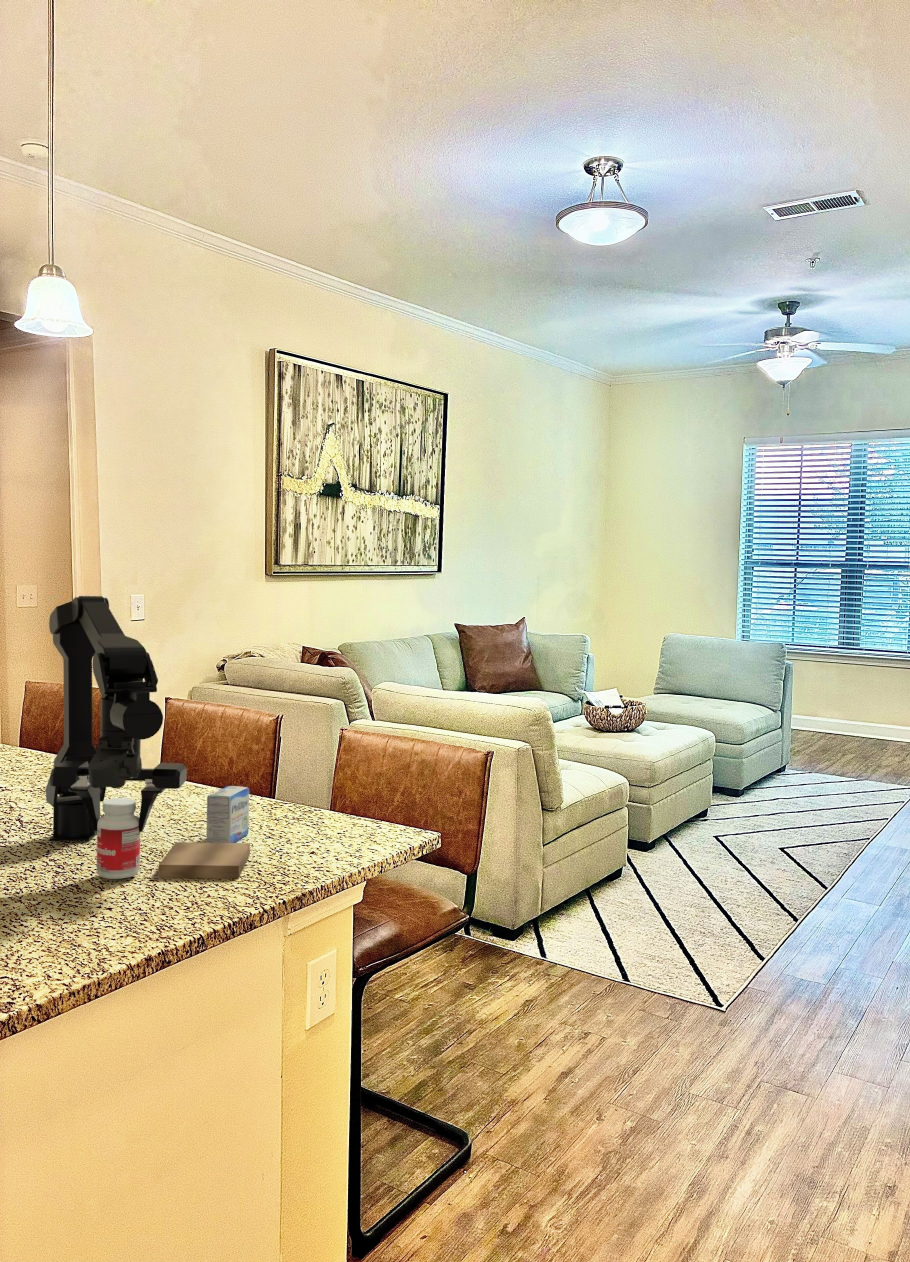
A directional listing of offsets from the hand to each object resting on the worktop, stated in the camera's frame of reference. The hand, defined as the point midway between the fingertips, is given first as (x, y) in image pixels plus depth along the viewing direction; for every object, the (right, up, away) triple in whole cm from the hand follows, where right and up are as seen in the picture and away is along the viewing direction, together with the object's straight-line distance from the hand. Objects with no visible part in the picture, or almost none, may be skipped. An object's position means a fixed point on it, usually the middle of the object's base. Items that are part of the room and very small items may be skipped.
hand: (119, 830), depth 143 cm
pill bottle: (0, -7, 0) cm, 7 cm away
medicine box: (+11, -7, +22) cm, 26 cm away
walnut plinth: (+11, -7, +7) cm, 15 cm away
